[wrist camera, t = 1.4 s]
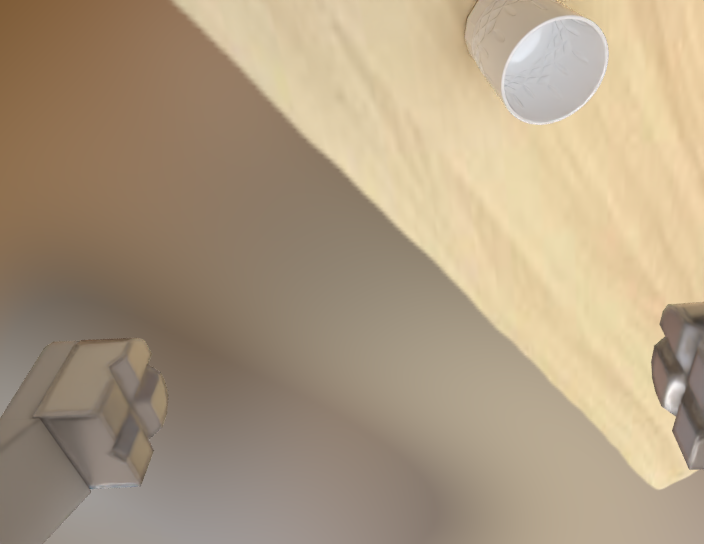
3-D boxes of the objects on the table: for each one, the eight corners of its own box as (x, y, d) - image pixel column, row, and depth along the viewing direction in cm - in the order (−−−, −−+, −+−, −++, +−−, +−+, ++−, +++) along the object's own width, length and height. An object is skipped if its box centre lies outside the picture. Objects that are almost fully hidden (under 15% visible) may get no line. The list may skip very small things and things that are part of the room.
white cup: (483, 90, 54) (528, 144, 46) (440, 19, 49) (482, 66, 42) (562, 33, 52) (623, 80, 44) (525, -48, 47) (586, -11, 40)
